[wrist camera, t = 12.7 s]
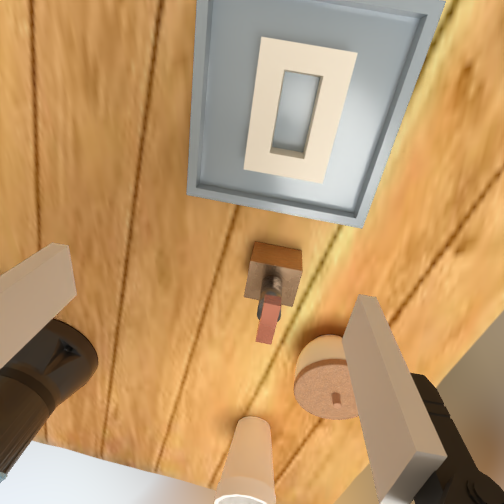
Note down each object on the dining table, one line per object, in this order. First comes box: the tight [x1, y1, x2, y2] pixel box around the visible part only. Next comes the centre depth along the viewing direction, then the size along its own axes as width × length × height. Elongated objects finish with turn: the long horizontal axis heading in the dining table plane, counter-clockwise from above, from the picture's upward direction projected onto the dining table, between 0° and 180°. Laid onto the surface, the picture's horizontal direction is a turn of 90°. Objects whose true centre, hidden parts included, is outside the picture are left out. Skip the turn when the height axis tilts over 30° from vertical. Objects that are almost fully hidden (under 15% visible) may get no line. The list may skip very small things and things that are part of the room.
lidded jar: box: [294, 334, 359, 420], centre depth 42 cm, size 11×11×9 cm
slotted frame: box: [243, 37, 358, 184], centre depth 29 cm, size 11×8×4 cm
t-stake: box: [244, 242, 303, 344], centre depth 35 cm, size 6×5×12 cm
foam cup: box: [214, 416, 276, 504], centre depth 52 cm, size 10×9×13 cm
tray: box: [187, 0, 446, 228], centre depth 30 cm, size 20×20×2 cm
